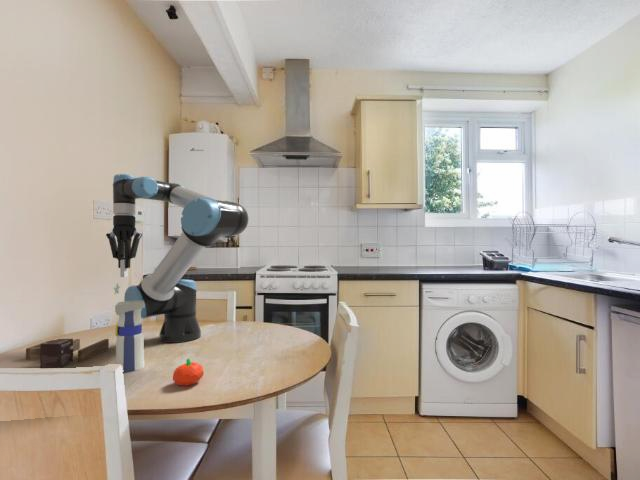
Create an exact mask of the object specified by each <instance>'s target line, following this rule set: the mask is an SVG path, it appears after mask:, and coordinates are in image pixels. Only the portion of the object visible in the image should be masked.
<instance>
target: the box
mask: <svg viewBox="0 0 640 480" xmlns="http://www.w3.org/2000/svg"><path fill="white" fill-rule="evenodd" d="M73 340H74V339H73V338H54V339H51V340H47V341H45V343H44V342H41V343H42V344H41V343H39V344H40V360H39V364H40V365H39V368H40V369H59V368H58V367H61V368H63V367H65V366H67V365H69V364H70V365H71V364H72V363H73V362H74V352H73Z"/></svg>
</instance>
